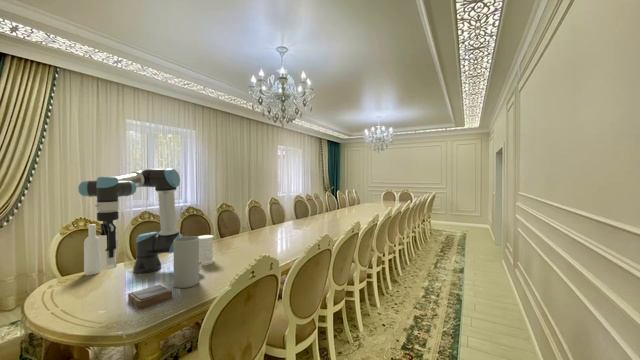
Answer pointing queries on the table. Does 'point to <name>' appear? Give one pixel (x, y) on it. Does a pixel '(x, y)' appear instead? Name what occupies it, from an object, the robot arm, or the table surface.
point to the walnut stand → (149, 296)
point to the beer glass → (102, 247)
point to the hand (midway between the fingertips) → (108, 262)
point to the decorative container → (206, 249)
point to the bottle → (91, 252)
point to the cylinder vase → (186, 261)
